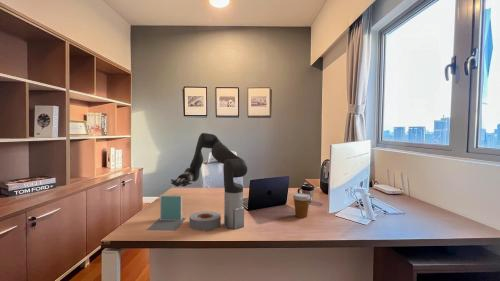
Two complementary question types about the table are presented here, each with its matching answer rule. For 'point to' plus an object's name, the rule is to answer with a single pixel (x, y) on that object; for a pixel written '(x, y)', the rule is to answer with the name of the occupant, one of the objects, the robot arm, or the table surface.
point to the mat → (166, 224)
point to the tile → (170, 207)
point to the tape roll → (205, 221)
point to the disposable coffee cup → (301, 204)
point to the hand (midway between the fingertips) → (176, 184)
